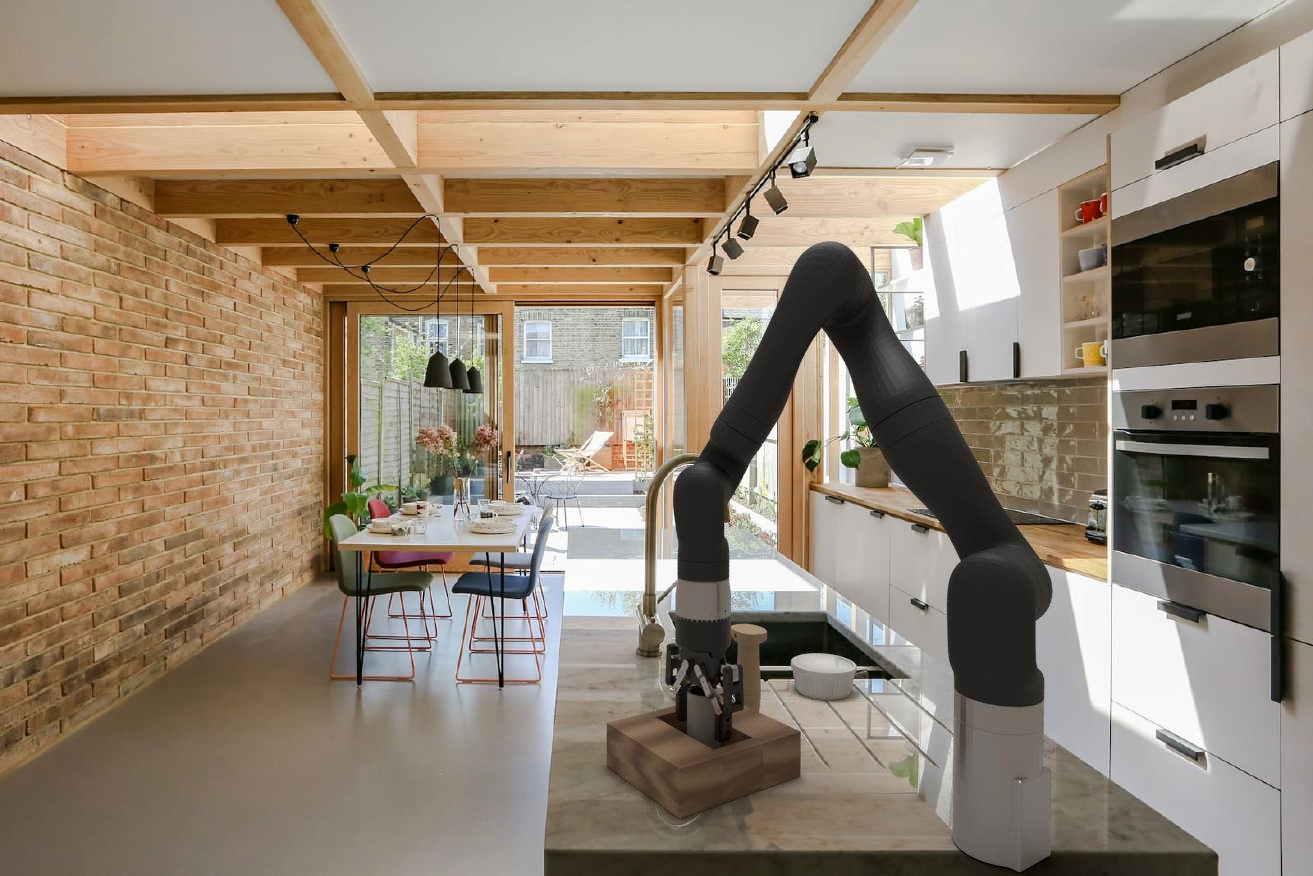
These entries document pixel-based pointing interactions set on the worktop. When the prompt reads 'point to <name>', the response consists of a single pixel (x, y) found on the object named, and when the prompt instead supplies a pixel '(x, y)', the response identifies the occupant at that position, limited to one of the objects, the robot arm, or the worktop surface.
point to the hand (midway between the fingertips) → (702, 730)
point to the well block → (701, 759)
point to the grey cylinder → (701, 717)
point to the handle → (749, 660)
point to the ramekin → (823, 675)
